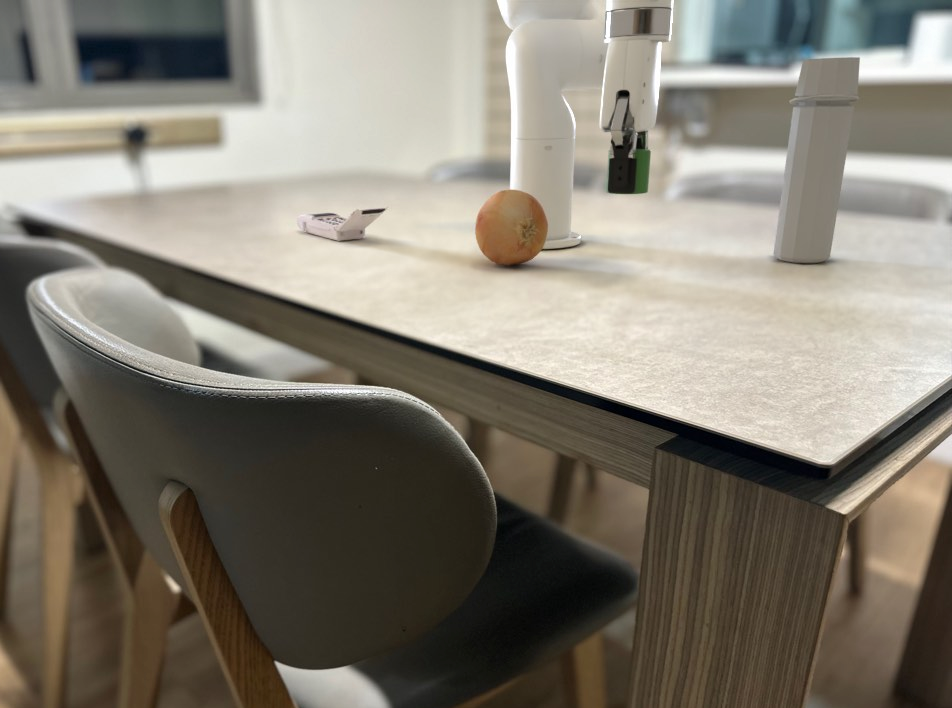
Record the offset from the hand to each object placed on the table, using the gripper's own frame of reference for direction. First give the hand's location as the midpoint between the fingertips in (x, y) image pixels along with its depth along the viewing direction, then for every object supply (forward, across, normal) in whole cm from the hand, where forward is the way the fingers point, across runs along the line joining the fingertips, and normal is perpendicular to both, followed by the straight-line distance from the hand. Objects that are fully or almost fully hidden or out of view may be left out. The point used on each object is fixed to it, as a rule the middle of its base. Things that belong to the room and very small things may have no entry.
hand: (626, 188), depth 100 cm
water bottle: (+11, -18, +20) cm, 29 cm away
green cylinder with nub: (0, 0, 0) cm, 0 cm away
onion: (+11, 0, -15) cm, 19 cm away
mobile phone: (+10, -13, -51) cm, 54 cm away
